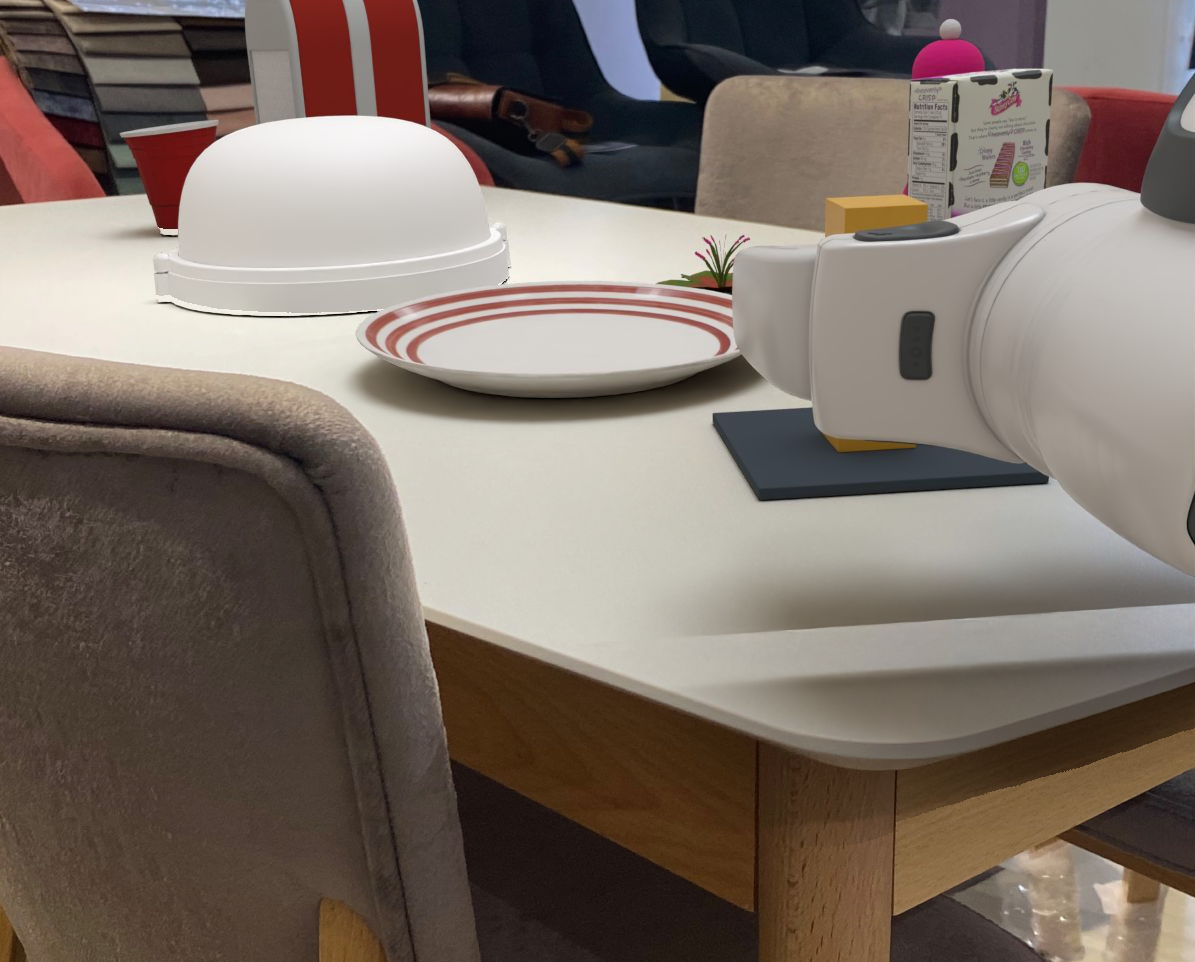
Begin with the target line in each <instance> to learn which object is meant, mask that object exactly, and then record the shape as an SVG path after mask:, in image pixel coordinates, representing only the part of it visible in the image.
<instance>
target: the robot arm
mask: <svg viewBox="0 0 1195 962" xmlns="http://www.w3.org/2000/svg"><path fill="white" fill-rule="evenodd" d="M1146 164H1147V165H1146V168H1145V171H1144V174H1143V178H1142V181H1141V182H1142V183H1141V189H1140V193H1139V192H1135V191H1132V190H1129V189H1124V188H1122V187H1121V188H1120V187H1117V186H1113V185H1109V184H1104V183H1096V182H1072V183H1064V184H1059V185H1053V186H1049V187H1046V189H1043V190H1039V191H1037V192H1034V193H1032V194H1029V195H1027V196H1025V197H1023V198H1021V199H1019V200H1017V201H1009V202H1004V203H999V204H995V205H992V206H988V207H985V208H982V209H979V210H976V211H973V212H970V213H967V214H963V215H960V216H957V217H954V218H950V219H946V220H942V221H928V222H923V223H917V224H912V225H905V226H898V227H889V228H880V229H869V230H860V231H857V232H856V233H848V234H835V235H830V236H828V237H825V236H824V237H823V238H822V239H821V240H820V241H819V242H818V243H811V244H807V243H806V244H789V245H787V244H786V245H755V246H754V245H753V246H749V247H745V248H742V249H740V250H739V251H738V252H737V253H736V255H735V256H734V258H735V259H734V258H733V259H734V265H733V266H732V273H733V284H732V293H731V295H732V311H733V331H734V338H735V343H736V345H737V347H738V349H739V351H740V352H741V354H742V355H741V356H742V357H744V358H745V360H746V361H747V363H748V364H750V365H751V367H752V368H753V369H754V370H755V371H756V372H757V373H758V374H759V375H761V377H763V378H764V379H765V380H766V381H767V382H768V383H770V385H772V386H773V387H775V388H776V389H778V390H779V391H782V392H783V393H785V394H787V395H789V396H792V397H795V398H798V399H801V400H805V401H809V402H811V407H812V408H813V417H814V423H815V425H816V427H817V428H818V429H819V430H820V431H821V432H822V433H824V434H826V435H828V436H831V437H835V438H841V439H855V440H864V441H872V442H889V443H903V444H914V445H924V446H941V447H947V448H953V449H958V450H963V451H967V452H971V453H975V454H979V455H983V456H986V457H990V458H994V459H998V460H1002V461H1007V462H1011V463H1024V462H1026V463H1027V464H1029V465H1030V466H1032V467H1033V468H1035V469H1036V470H1038V471H1040V472H1041V473H1043V474H1045V475H1047V476H1049V478H1051V479H1053V480H1056V482H1057V484H1059V486H1060V487H1061V488H1062V490H1063V491H1064V492H1065V493H1066V494H1067V495H1068V496H1069V497H1070V498H1071V499H1072V500H1073V501H1074V502H1075V503H1076V504H1078V506H1080V507H1081V508H1082V509H1083V510H1085V512H1087V513H1088V514H1089V515H1091V516H1092V517H1093V518H1094V519H1096V520H1097V521H1099V522H1100V523H1101V524H1103V525H1104V526H1106V527H1107V528H1109V529H1110V531H1113V533H1115V534H1117V535H1118V536H1120V537H1121V538H1122V539H1124V540H1125V541H1127V542H1129V543H1130V544H1131V545H1133V546H1134V547H1137V548H1138V549H1139V550H1141V551H1143V552H1145V554H1148V555H1149V556H1151V557H1153V558H1155V559H1157V560H1159V561H1161V562H1162V563H1164V564H1166V565H1168V566H1170V567H1172V568H1174V569H1175V570H1178V571H1180V572H1181V573H1184V574H1186V575H1189V576H1191V577H1193V578H1195V72H1194V73H1193V74H1192V76H1191V77H1190V79H1189V80H1188V81H1187V83H1185V85H1184V86H1183V89H1182V90H1181V92H1180V93H1179V94H1178V96H1177V98H1176V99H1175V100H1174V103H1173V104H1172V106H1171V108H1170V110H1169V112H1168V114H1167V117H1166V118H1165V122H1164V124H1163V126H1162V128H1161V130H1160V133H1159V135H1158V137H1157V139H1156V143H1155V145H1154V147H1153V149H1152V151H1151V154H1150V156H1149V158H1148V162H1147V163H1146Z"/></svg>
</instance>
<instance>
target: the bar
mask: <svg viewBox="0 0 1195 962" xmlns="http://www.w3.org/2000/svg"><path fill="white" fill-rule="evenodd" d="M927 214H928V204H926V203H924V202H921V201H919V200H916V199H914V198H911V197H909V196H906V195H904V194H903V193H902V194H885V195H882V194H881V195H864V196H863V195H862V196H842V197H841V196H839V197H826V198H825V216H824V217H825V220H824V221H825V222H824V223H825V224H824V238H825V237H828V236H830V235H835V234H848V233H856V232H857V231H860V230H869V229H880V228H889V227H898V226H905V225H912V224H917V223H923V222H927ZM821 433H822V432H821ZM822 434H823V435H824V436H825V437H826V438H827V440H828V441H829V442H830V443H831V444H832V445H833V447H834V448H835V449H836V450H837V451H838V452H855V451H872V450H889V449H906V448H916V445H914V444H903V443H889V442H872V441H864V440H855V439H841V438H835V437H831V436H828V435H826V434H824V433H822Z"/></svg>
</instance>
